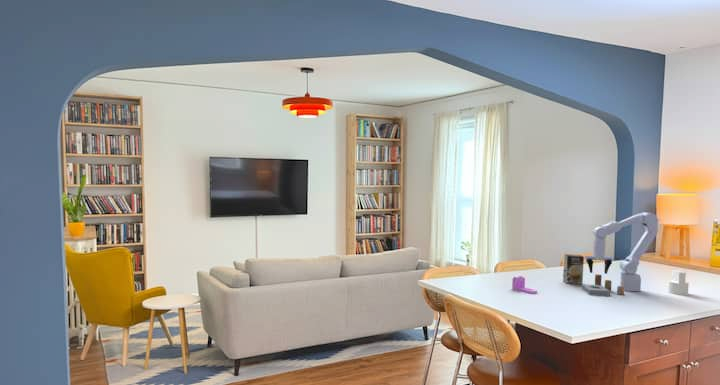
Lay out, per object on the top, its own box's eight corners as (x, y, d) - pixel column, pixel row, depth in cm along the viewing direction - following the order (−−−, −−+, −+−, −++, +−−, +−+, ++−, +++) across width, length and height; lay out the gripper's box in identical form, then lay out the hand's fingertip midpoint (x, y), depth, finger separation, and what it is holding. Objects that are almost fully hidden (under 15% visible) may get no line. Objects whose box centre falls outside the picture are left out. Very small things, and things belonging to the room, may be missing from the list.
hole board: (601, 289, 265) (601, 285, 265) (610, 295, 252) (610, 291, 251) (581, 288, 267) (582, 284, 267) (589, 294, 253) (589, 289, 253)
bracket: (512, 289, 261) (512, 276, 261) (518, 288, 265) (519, 275, 264) (532, 294, 251) (533, 281, 250) (539, 293, 254) (539, 280, 253)
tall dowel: (600, 287, 273) (600, 274, 272) (601, 288, 269) (602, 275, 269) (593, 286, 273) (594, 274, 273) (595, 287, 270) (596, 275, 270)
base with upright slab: (691, 295, 257) (692, 273, 257) (672, 294, 259) (673, 272, 259) (683, 291, 266) (684, 270, 266) (665, 290, 268) (666, 269, 268)
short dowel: (622, 293, 258) (622, 286, 257) (624, 295, 254) (625, 287, 254) (616, 293, 258) (616, 285, 258) (618, 294, 255) (618, 287, 255)
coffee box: (566, 283, 279) (567, 255, 279) (562, 281, 286) (563, 254, 285) (582, 284, 278) (584, 256, 278) (579, 282, 285) (580, 254, 284)
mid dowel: (609, 290, 265) (610, 280, 265) (612, 291, 262) (612, 281, 262) (603, 289, 266) (604, 279, 266) (605, 291, 263) (606, 281, 262)
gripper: (611, 248, 273) (609, 272, 274) (583, 247, 276) (582, 270, 276) (615, 250, 266) (614, 274, 267) (587, 248, 269) (586, 273, 269)
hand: (598, 273), depth 271 cm, fingers open, 7 cm apart
